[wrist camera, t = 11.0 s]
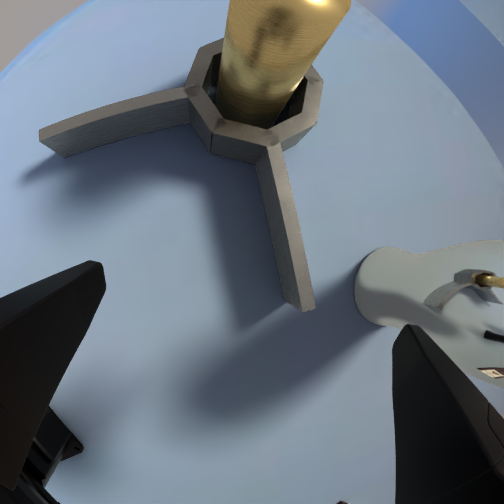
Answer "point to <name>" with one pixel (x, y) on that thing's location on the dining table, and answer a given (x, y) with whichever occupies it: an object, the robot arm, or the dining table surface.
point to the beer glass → (442, 300)
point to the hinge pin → (270, 54)
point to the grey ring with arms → (216, 149)
